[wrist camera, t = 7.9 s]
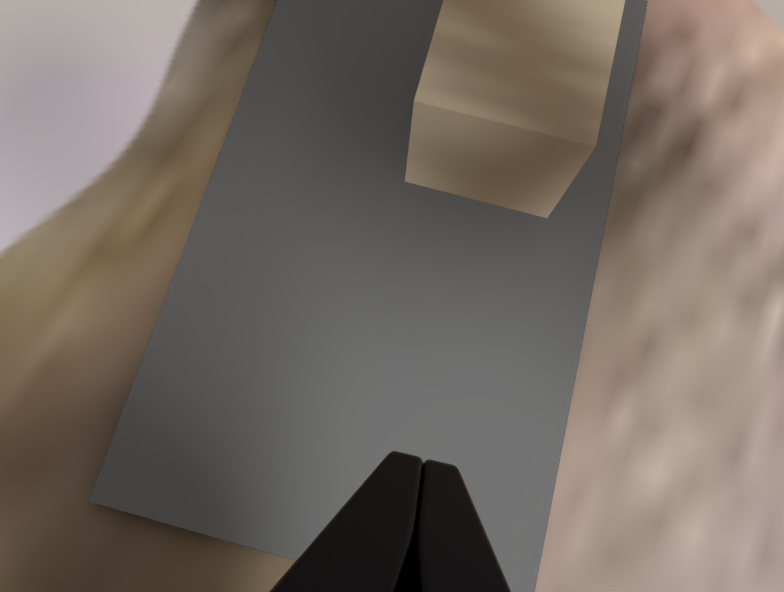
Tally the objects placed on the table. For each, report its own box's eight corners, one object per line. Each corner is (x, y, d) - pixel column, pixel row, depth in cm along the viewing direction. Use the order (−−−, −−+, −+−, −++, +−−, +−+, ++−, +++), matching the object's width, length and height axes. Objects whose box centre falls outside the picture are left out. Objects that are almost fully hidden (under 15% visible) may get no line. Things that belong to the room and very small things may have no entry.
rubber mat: (95, 500, 18) (88, 501, 17) (309, -71, 23) (308, -82, 23) (523, 622, 17) (527, 626, 17) (641, 10, 23) (647, 0, 22)
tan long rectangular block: (413, 100, 16) (502, -200, 19) (404, 181, 20) (477, -72, 23) (595, 146, 16) (658, -164, 18) (547, 218, 20) (603, -42, 23)
